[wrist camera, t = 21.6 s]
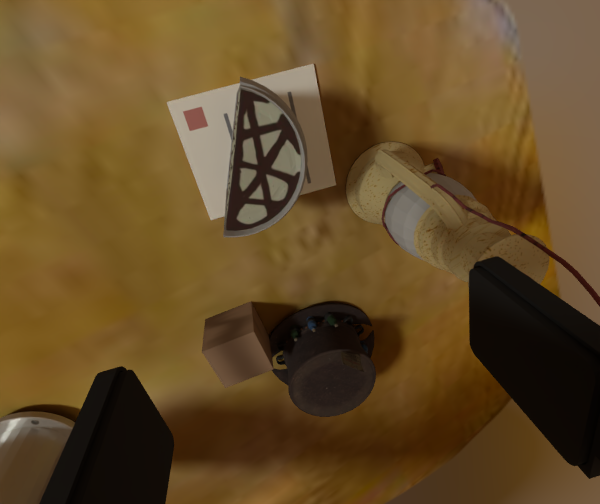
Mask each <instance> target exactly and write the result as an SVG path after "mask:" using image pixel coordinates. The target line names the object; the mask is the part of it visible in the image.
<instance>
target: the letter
mask: <svg viewBox="0 0 600 504" xmlns="http://www.w3.org/2000/svg"><path fill="white" fill-rule="evenodd" d="M253 81H255V82H257V83H259V84H261V85H263V86H265V87H267V88H268V89H270V90H271V91H273V92H274V93H275V94H277V95H278V96H279V97H280V98H281V99H282V100H283V101H284V102H285V103H286V104H287V105H288V106H289V108H290V109H291V110H292V112H293V113H294V114H295V116H296V118H297V120H298V122H299V124H300V125H301V128H302V131H303V134H304V136H305V141H306V146H307V158H308V162H307V171H306V178H305V182H304V185H303V188H302V191H301V193H300V195H303V194H306V193H310V192H314V191H317V190H321V189H324V188H328V187H331V186H335V185H336V181H335V175H334V170H333V165H332V159H331V154H330V149H329V143H328V138H327V133H326V127H325V122H324V117H323V111H322V106H321V101H320V95H319V90H318V85H317V79H316V74H315V69H314V64H310V65H306V66H303V67H299V68H295V69H291V70H287V71H284V72H280V73H276V74H272V75H268V76H264V77H261V78H257V79H253ZM239 86H240V83H238V84H234V85H230V86H226V87H222V88H219V89H215V90H211V91H207V92H203V93H200V94H196V95H192V96H188V97H184V98H180V99H177V100H173V101H169V102H167V105H168V107H169V110H170V113H171V115H172V118H173V121H174V123H175V126H176V129H177V131H178V134H179V137H180V139H181V142H182V145H183V147H184V150H185V153H186V155H187V158H188V161H189V163H190V166H191V169H192V171H193V174H194V177H195V179H196V182H197V185H198V187H199V190H200V193H201V195H202V198H203V201H204V203H205V206H206V209H207V211H208V214H209V217H210V219H211V220H213V219H217V218H220V217H224V216H225V205H226V189H227V179H228V170H229V160H230V151H231V141H232V132H233V122H234V113H235V104H236V94H237V91H238V89H239Z"/></svg>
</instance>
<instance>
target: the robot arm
mask: <svg viewBox="0 0 600 504" xmlns="http://www.w3.org/2000/svg"><path fill="white" fill-rule="evenodd" d="M469 327H470V346H471V349H472V351H473V353H474V354H475V356H476V357H477V358H478V359H479V360H480V362H481V363H482V364H483V365H484V366H485V367H486V369H487V370H488V371H489V372H490V373H491V374H492V375H493V377H494V378H495V379H496V380H497V381H498V382H499V384H500V385H501V386H502V387H503V388H504V389H505V391H506V392H507V393H508V394H509V395H510V396H511V398H512V399H513V400H514V401H515V402H516V403H517V405H518V406H519V407H520V408H521V409H522V410H523V412H524V413H525V414H526V415H527V416H528V417H529V419H530V420H531V421H532V422H533V423H534V424H535V426H536V427H537V428H538V429H539V430H540V431H541V432H542V434H543V435H544V436H545V437H546V438H547V440H548V441H549V442H550V443H551V444H552V445H553V446H554V448H555V449H556V450H557V451H558V452H559V453H560V455H561V456H562V457H563V458H564V459H565V460H566V461H567V462H568V463H569V464H571V465H573V466H578V467H579V468H580V469H581V470H582V471H583V472H584V474H585V475H586V476H587V477H588V478H589V479H590V478H593V477H596V476H599V475H600V326H599V325H598V324H596V323H595V322H593V321H592V320H591V319H589V318H588V317H586V316H585V315H583V314H582V313H580V312H579V311H577V310H576V309H574V308H573V307H572V306H570V305H569V304H567V303H566V302H564V301H563V300H562V299H560V298H559V297H557V296H556V295H554V294H553V293H551V292H550V291H549V290H547V289H546V288H544V287H543V286H541V285H540V284H538V283H537V282H535V281H534V280H533V279H531V278H530V277H528V276H527V275H525V274H524V273H522V272H521V271H520V270H518V269H517V268H515V267H514V266H512V265H511V264H509V263H508V262H507V261H505V260H504V259H502V258H500V257H498V256H495V257H492V258H488V259H485V260H481V261H478V262H476V263H475V264H474V268H473V269H471V270H470V271H469ZM173 449H174V440H173V436H172V433H171V431H170V430H169V428H168V426H167V425H166V423H165V421H164V420H163V418H162V417H161V415H160V413H159V412H158V410H157V408H156V407H155V405H154V404H153V402H152V400H151V399H150V397H149V395H148V394H147V392H146V391H145V389H144V387H143V386H142V384H141V382H140V381H139V379H138V378H137V376H136V374H135V373H134V372H133V371H132V370H126V368H124V367H117V368H114V369H110V370H107V371H103V372H100V373H98V374H97V376H96V377H95V379H94V381H93V384H92V386H91V388H90V390H89V393H88V395H87V397H86V399H85V402H84V404H83V406H82V408H81V411H80V413H79V415H78V417H77V420H76V422H73V421H72V420H70V419H68V418H65V417H63V416H60V415H56V414H53V413H47V412H35V411H29V412H19V413H14V414H10V415H7V416H4V417H2V418H0V504H165V502H166V495H167V489H168V482H169V476H170V469H171V463H172V456H173Z"/></svg>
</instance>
